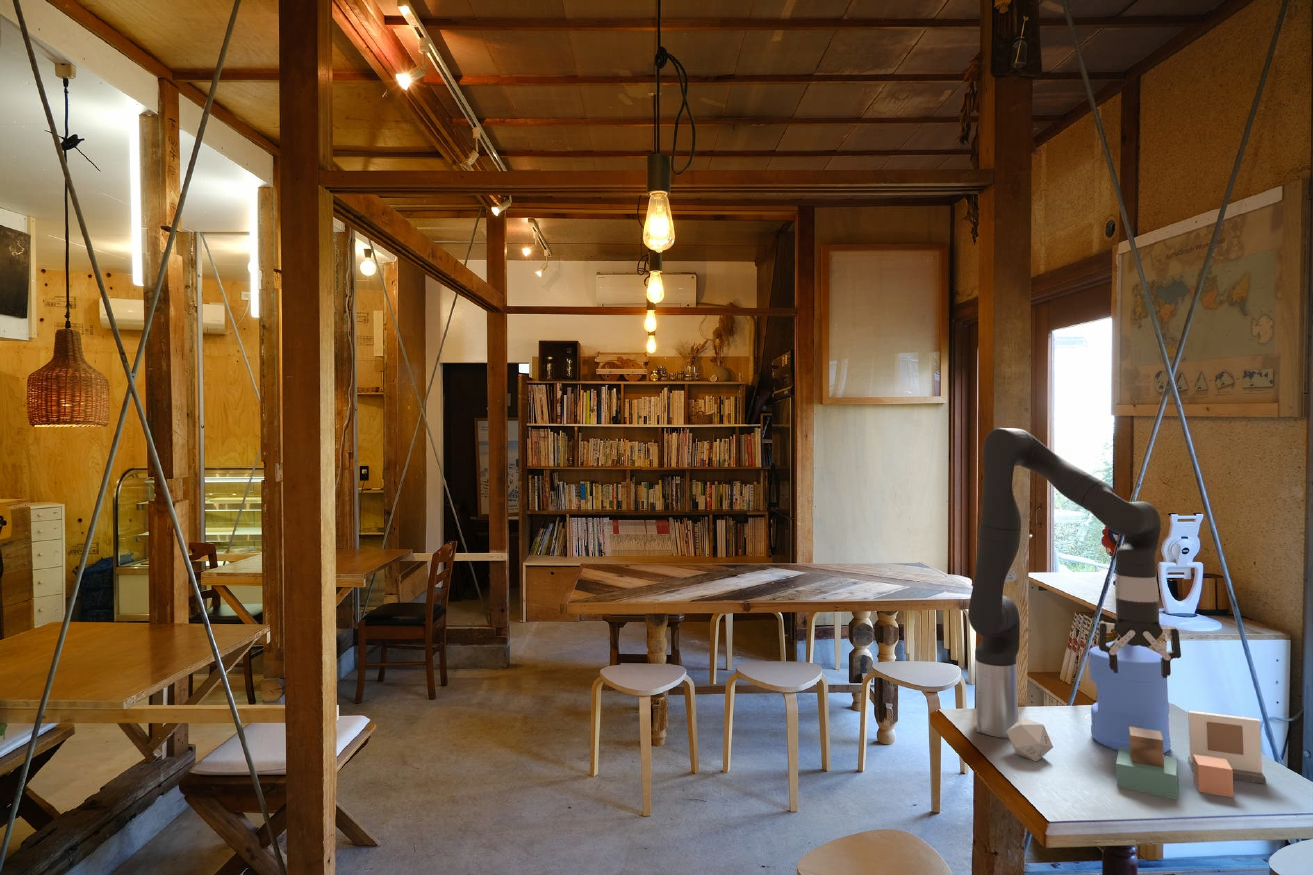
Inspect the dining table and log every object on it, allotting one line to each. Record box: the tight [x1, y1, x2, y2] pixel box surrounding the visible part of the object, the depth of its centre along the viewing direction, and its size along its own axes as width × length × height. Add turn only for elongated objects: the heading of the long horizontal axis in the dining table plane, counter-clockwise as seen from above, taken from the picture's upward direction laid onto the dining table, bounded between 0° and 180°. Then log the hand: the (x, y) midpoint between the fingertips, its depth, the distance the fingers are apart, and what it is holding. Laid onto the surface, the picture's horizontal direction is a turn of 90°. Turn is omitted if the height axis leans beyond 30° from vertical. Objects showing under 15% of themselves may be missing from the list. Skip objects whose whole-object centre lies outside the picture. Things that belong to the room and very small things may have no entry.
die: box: [1006, 717, 1054, 762], centre depth 162 cm, size 8×9×10 cm
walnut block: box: [1129, 727, 1165, 768], centre depth 148 cm, size 6×6×6 cm
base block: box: [1115, 747, 1179, 800], centre depth 147 cm, size 10×10×5 cm
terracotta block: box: [1192, 754, 1235, 798], centre depth 145 cm, size 6×6×6 cm
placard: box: [1187, 710, 1267, 784], centre depth 152 cm, size 12×6×12 cm, turn 63°
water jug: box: [1088, 633, 1171, 754], centre depth 168 cm, size 16×16×28 cm
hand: (1139, 674), depth 149 cm, fingers open, 8 cm apart
